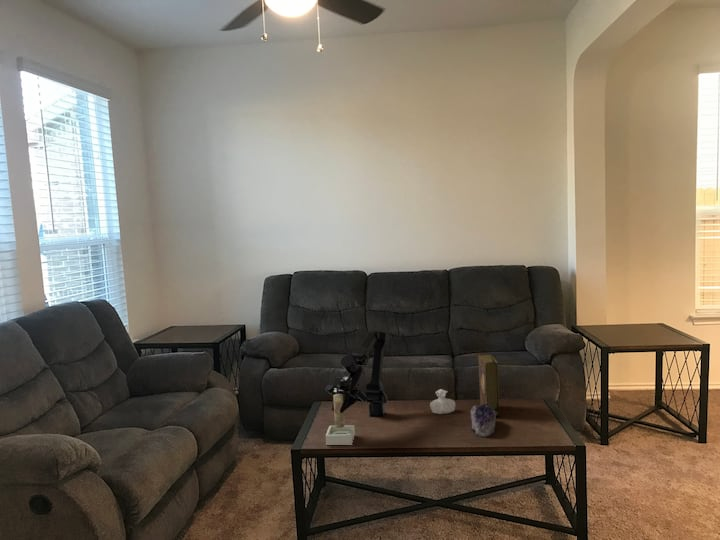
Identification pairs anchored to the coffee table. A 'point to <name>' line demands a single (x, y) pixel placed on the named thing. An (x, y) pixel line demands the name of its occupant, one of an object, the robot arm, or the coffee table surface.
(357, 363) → the robot arm
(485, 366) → the book
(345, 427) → the bore box
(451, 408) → the white rounded necked piece
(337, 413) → the peg
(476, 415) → the geode
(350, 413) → the coffee table surface
